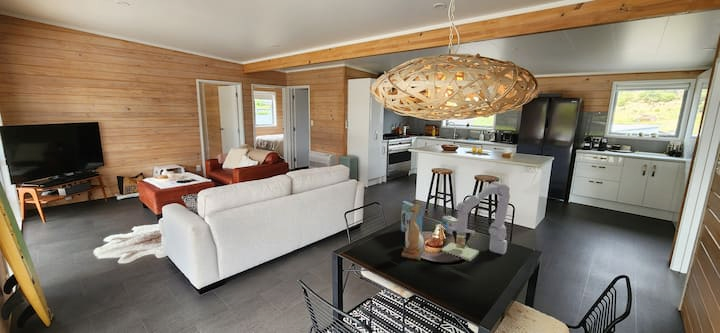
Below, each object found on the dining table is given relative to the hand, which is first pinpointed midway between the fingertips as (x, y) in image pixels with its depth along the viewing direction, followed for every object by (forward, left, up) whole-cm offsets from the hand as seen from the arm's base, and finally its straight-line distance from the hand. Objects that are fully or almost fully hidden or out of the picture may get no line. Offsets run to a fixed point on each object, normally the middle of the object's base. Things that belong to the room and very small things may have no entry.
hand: (460, 243), depth 180 cm
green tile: (0, 0, -6) cm, 6 cm away
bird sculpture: (+19, +24, -5) cm, 31 cm away
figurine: (+22, +18, -6) cm, 29 cm away
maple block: (0, 0, -2) cm, 2 cm away
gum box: (+35, 0, -6) cm, 35 cm away
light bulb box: (+19, -27, -6) cm, 33 cm away
